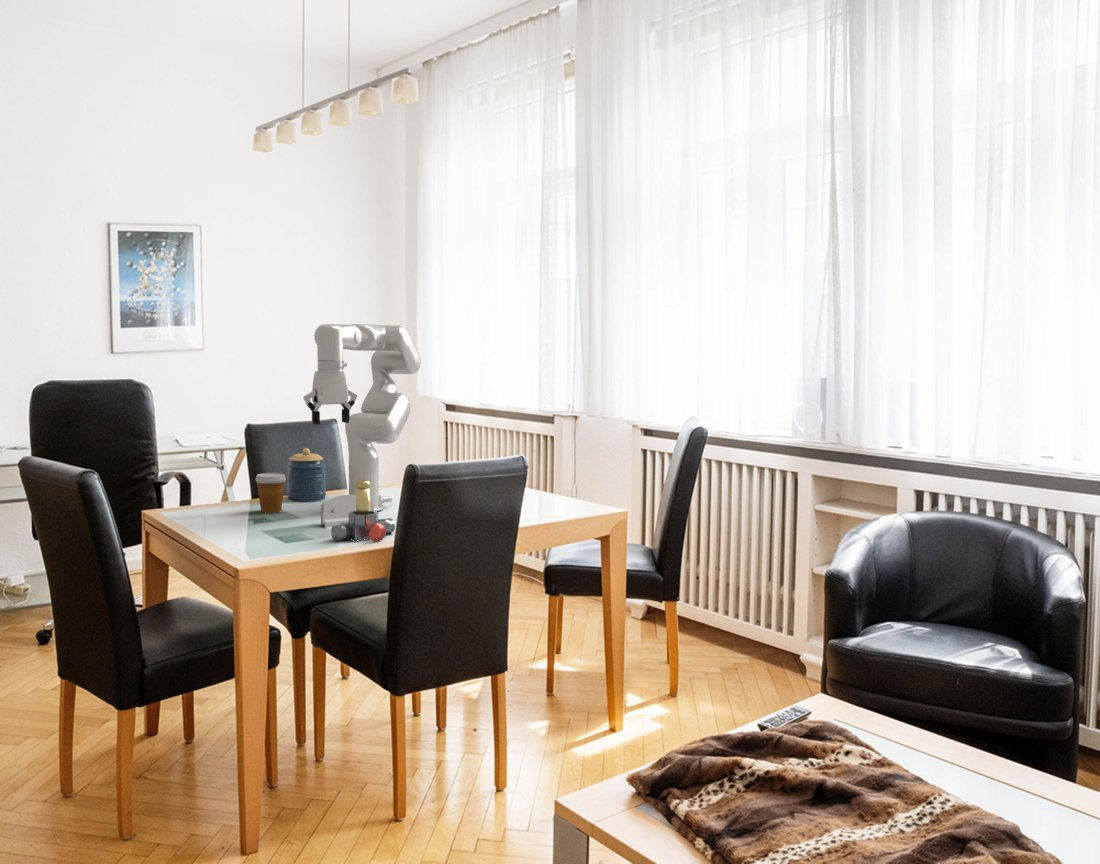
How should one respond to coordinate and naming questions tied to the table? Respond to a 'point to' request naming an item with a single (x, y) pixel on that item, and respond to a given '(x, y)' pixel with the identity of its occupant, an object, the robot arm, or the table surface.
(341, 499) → the white slotted block
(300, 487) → the canister
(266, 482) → the disposable coffee cup
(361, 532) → the valve body
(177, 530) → the table surface
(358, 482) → the brass cylinder
